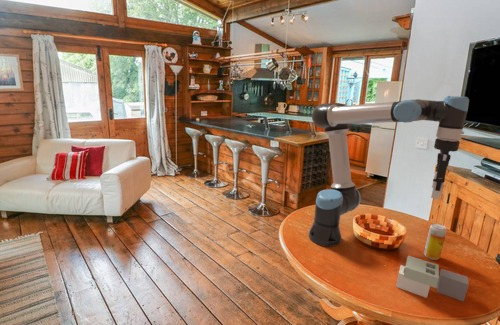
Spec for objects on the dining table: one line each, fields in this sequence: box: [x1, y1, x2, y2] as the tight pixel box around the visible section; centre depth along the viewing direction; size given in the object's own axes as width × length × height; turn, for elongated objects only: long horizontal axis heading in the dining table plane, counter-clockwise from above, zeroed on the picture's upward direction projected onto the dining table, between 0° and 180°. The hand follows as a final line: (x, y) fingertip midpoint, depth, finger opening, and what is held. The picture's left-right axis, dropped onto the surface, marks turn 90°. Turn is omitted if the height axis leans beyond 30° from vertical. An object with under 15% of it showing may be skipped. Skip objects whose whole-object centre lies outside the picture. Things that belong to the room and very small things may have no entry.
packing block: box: [436, 268, 469, 302], centre depth 104 cm, size 8×5×7 cm, turn 57°
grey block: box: [404, 255, 440, 289], centre depth 103 cm, size 10×9×4 cm
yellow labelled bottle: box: [423, 223, 447, 261], centre depth 125 cm, size 6×6×15 cm
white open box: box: [395, 264, 432, 299], centre depth 105 cm, size 10×6×10 cm, turn 57°
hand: (435, 193), depth 111 cm, fingers open, 13 cm apart
